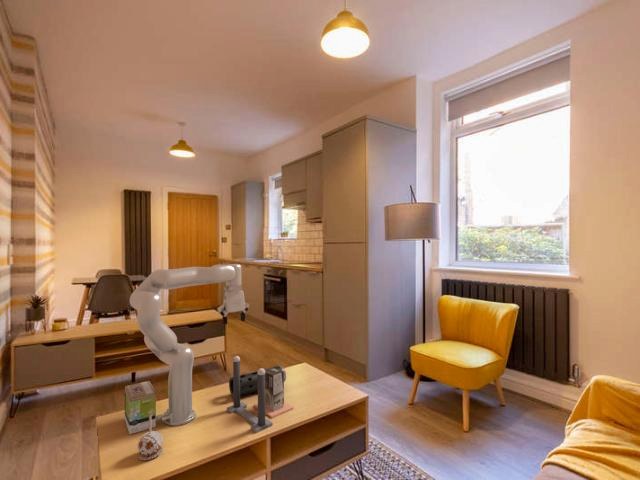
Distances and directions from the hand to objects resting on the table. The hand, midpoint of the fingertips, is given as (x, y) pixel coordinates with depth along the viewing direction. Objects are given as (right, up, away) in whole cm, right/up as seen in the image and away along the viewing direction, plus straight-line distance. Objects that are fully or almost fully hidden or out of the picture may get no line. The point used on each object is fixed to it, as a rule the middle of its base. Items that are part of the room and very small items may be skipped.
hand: (234, 322), depth 166 cm
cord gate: (+12, -36, -22) cm, 44 cm away
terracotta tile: (+22, -36, -13) cm, 44 cm away
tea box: (-33, -37, -26) cm, 56 cm away
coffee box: (+21, -35, -14) cm, 43 cm away
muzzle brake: (+11, -37, +4) cm, 39 cm away
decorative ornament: (-18, -36, -47) cm, 62 cm away
